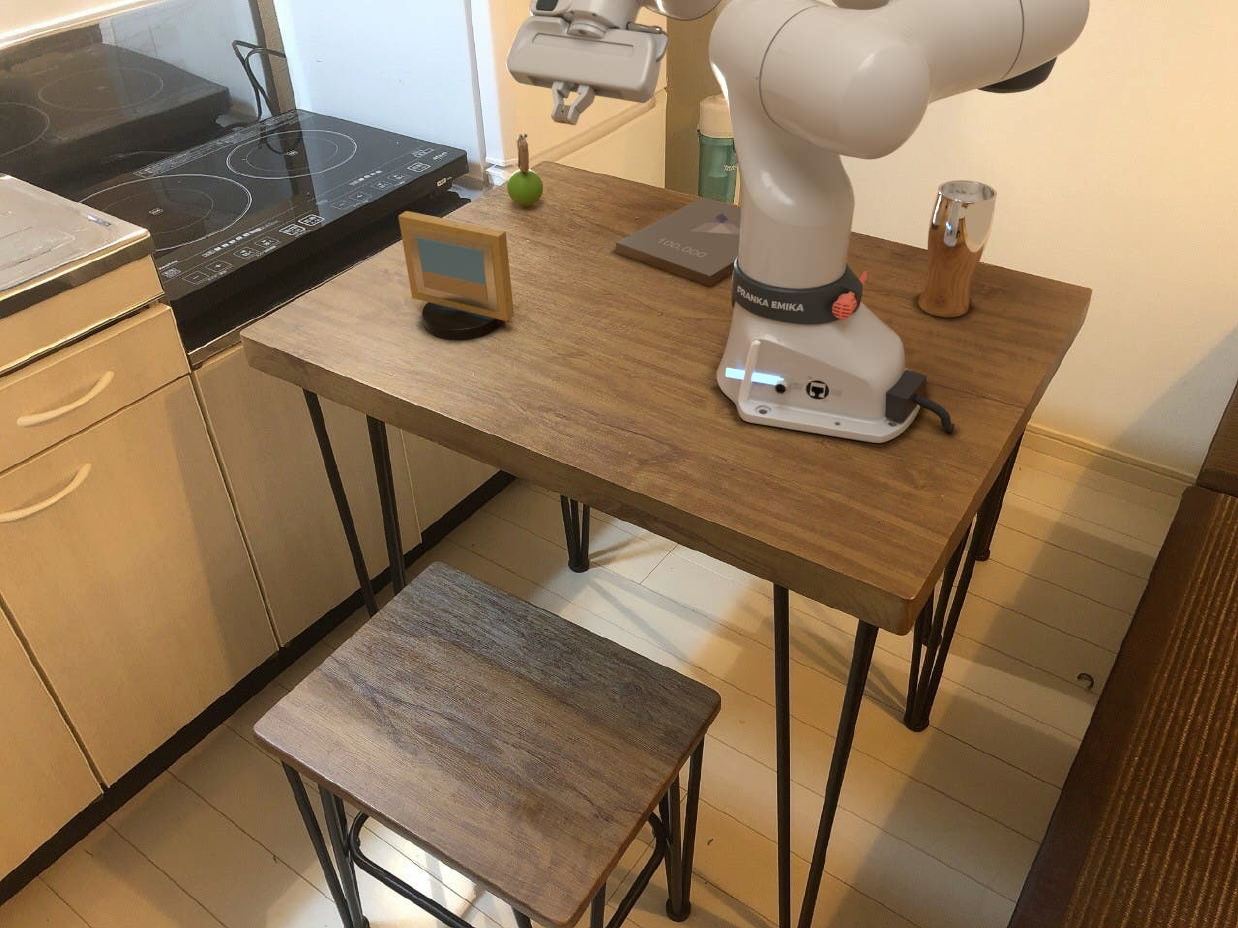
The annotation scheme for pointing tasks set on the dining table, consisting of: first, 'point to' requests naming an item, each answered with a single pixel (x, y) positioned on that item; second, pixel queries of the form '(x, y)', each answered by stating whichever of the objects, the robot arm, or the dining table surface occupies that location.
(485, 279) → the picture frame
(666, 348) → the dining table surface
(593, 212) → the dining table surface
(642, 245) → the play button award
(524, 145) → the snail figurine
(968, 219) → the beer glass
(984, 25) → the robot arm
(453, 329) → the frame stand
